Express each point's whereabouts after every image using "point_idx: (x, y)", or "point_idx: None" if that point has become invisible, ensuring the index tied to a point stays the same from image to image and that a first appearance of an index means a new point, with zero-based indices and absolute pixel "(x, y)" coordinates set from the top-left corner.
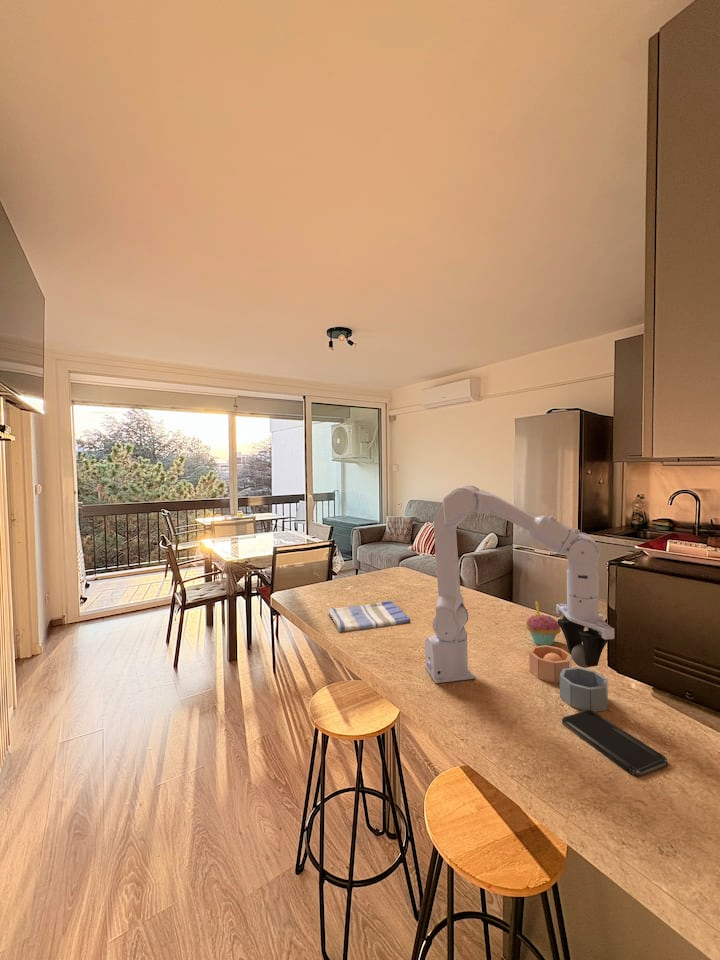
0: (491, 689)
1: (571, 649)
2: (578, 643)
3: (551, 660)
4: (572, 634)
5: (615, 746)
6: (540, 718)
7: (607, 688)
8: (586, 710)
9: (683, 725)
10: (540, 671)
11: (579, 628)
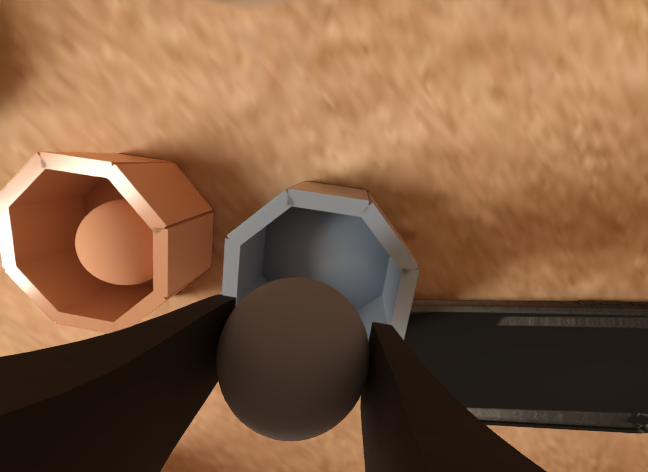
0: (194, 452)
1: (216, 380)
2: (195, 348)
3: (133, 278)
4: (136, 465)
5: (558, 385)
6: (357, 438)
7: (387, 221)
8: None
9: (599, 57)
10: (160, 305)
11: (82, 454)
